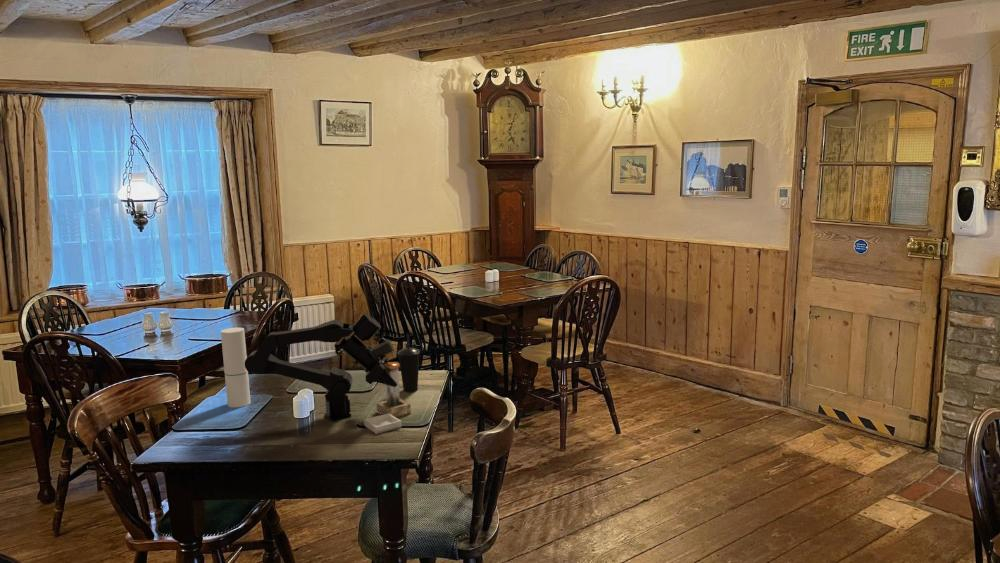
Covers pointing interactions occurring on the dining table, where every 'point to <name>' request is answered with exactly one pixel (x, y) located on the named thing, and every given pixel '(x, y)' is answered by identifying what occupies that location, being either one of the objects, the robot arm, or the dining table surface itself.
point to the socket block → (394, 408)
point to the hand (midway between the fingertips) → (396, 383)
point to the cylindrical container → (235, 367)
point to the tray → (382, 423)
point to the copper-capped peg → (391, 391)
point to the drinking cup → (409, 367)
